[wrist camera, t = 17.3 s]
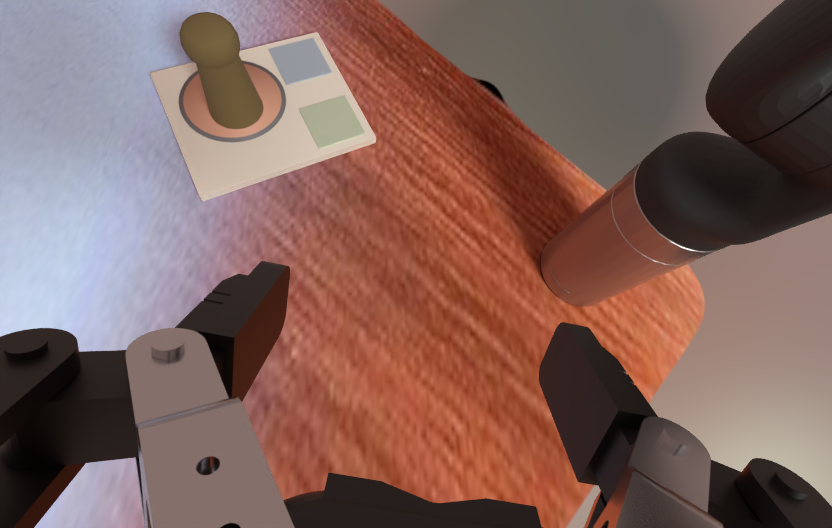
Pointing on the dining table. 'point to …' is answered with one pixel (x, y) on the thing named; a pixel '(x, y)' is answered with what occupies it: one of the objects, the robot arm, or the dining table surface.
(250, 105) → the olive pawn
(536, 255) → the dining table surface
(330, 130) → the picture board
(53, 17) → the dining table surface
